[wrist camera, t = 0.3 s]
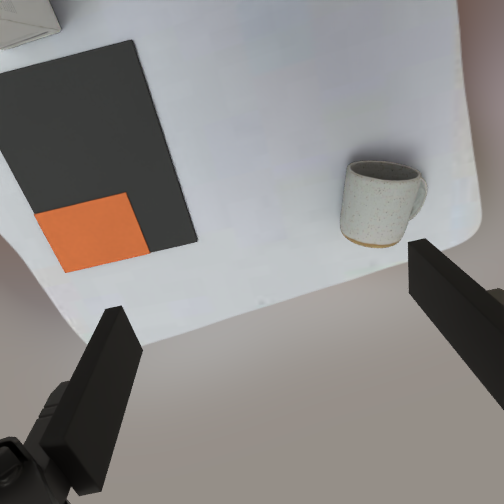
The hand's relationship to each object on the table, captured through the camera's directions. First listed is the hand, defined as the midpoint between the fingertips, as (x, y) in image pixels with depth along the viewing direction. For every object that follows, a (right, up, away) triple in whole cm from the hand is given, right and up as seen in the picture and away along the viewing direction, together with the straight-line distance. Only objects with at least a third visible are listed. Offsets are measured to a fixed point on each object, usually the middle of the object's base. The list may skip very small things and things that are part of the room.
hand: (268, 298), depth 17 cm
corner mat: (-18, +11, +24) cm, 32 cm away
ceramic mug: (+14, +10, +27) cm, 32 cm away
